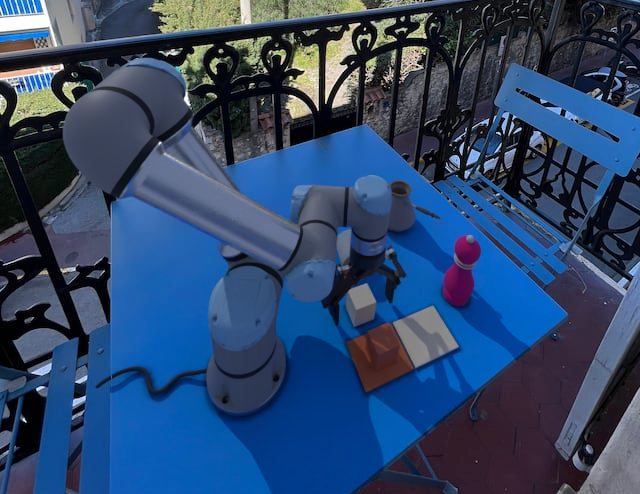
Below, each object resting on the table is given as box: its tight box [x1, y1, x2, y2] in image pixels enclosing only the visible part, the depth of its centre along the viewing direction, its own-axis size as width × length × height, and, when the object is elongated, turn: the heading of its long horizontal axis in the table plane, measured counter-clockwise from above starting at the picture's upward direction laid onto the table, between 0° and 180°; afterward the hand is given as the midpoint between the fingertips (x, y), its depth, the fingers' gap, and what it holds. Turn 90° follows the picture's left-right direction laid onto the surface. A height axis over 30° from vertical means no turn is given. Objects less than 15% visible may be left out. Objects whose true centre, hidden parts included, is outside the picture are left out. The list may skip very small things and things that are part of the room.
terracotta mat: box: [346, 322, 415, 394], centre depth 85 cm, size 11×10×1 cm
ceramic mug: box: [336, 228, 351, 267], centre depth 104 cm, size 11×8×8 cm
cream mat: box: [392, 305, 460, 369], centre depth 90 cm, size 11×10×1 cm
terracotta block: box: [365, 322, 400, 372], centre depth 84 cm, size 5×5×6 cm
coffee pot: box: [388, 179, 443, 233], centre depth 112 cm, size 21×12×15 cm, turn 35°
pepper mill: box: [442, 234, 482, 308], centre depth 95 cm, size 7×7×20 cm
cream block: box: [345, 282, 377, 328], centre depth 92 cm, size 5×5×6 cm
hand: (362, 309), depth 93 cm, fingers open, 13 cm apart
